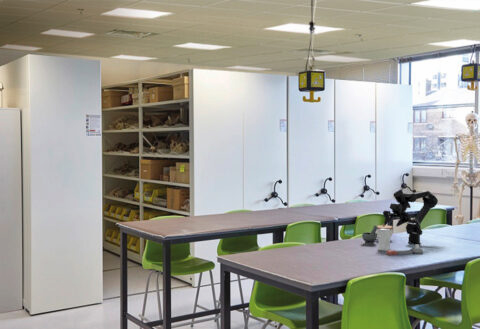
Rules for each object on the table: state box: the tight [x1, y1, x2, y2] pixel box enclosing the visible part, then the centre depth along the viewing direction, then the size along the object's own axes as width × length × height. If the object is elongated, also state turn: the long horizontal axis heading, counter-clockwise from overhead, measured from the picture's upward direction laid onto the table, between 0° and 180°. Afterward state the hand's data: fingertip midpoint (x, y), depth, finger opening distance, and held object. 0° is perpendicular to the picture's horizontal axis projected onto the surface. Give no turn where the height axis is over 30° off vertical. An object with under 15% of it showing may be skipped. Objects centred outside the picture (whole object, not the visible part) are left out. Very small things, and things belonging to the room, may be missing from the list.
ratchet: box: [386, 244, 424, 256], centre depth 359 cm, size 23×7×5 cm, turn 104°
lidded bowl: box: [375, 223, 394, 241], centre depth 411 cm, size 13×13×11 cm
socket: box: [378, 229, 391, 252], centre depth 372 cm, size 5×5×13 cm
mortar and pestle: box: [361, 225, 378, 246], centre depth 395 cm, size 11×9×12 cm
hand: (390, 225), depth 378 cm, fingers open, 9 cm apart
